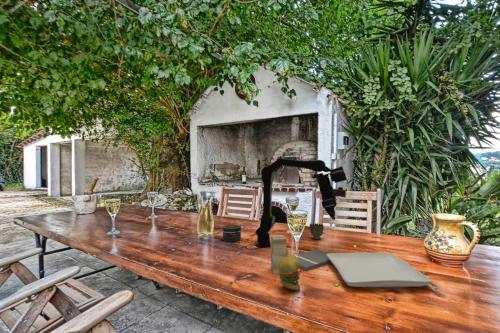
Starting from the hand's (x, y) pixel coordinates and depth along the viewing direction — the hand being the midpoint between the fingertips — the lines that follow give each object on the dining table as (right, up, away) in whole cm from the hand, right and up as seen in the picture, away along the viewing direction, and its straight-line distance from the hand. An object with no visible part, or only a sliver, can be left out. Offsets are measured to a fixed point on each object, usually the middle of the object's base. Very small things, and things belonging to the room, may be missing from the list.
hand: (334, 217), depth 128 cm
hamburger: (-26, -16, -39) cm, 50 cm away
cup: (-3, -16, +20) cm, 26 cm away
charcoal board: (-13, -16, -13) cm, 24 cm away
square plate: (+5, -16, -28) cm, 33 cm away
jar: (-49, -16, +21) cm, 56 cm away
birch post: (-28, -16, -23) cm, 40 cm away
